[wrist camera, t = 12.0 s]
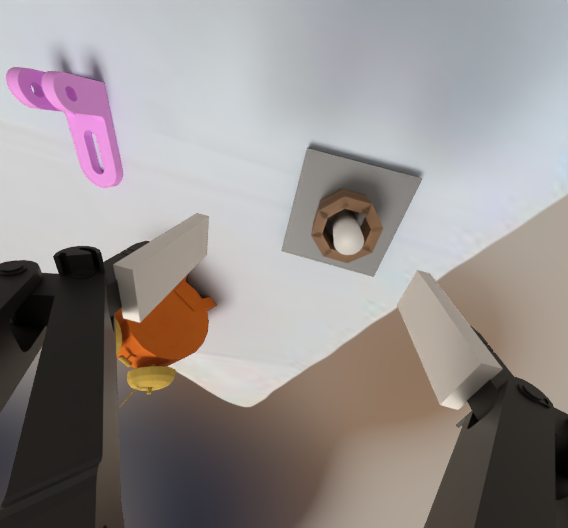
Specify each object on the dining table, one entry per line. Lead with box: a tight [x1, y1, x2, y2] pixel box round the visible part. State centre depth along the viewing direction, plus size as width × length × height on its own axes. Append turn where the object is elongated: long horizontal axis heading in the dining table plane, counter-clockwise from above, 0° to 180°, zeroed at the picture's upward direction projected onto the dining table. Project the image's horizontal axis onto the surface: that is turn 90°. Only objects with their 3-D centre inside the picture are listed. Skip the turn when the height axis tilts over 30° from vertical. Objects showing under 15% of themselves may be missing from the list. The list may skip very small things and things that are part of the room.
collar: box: [311, 188, 384, 263], centre depth 29 cm, size 7×7×5 cm
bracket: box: [6, 67, 123, 188], centre depth 30 cm, size 13×6×7 cm, turn 174°
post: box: [282, 148, 422, 277], centre depth 28 cm, size 14×14×10 cm
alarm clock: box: [114, 275, 216, 408], centre depth 35 cm, size 13×6×20 cm, turn 36°
